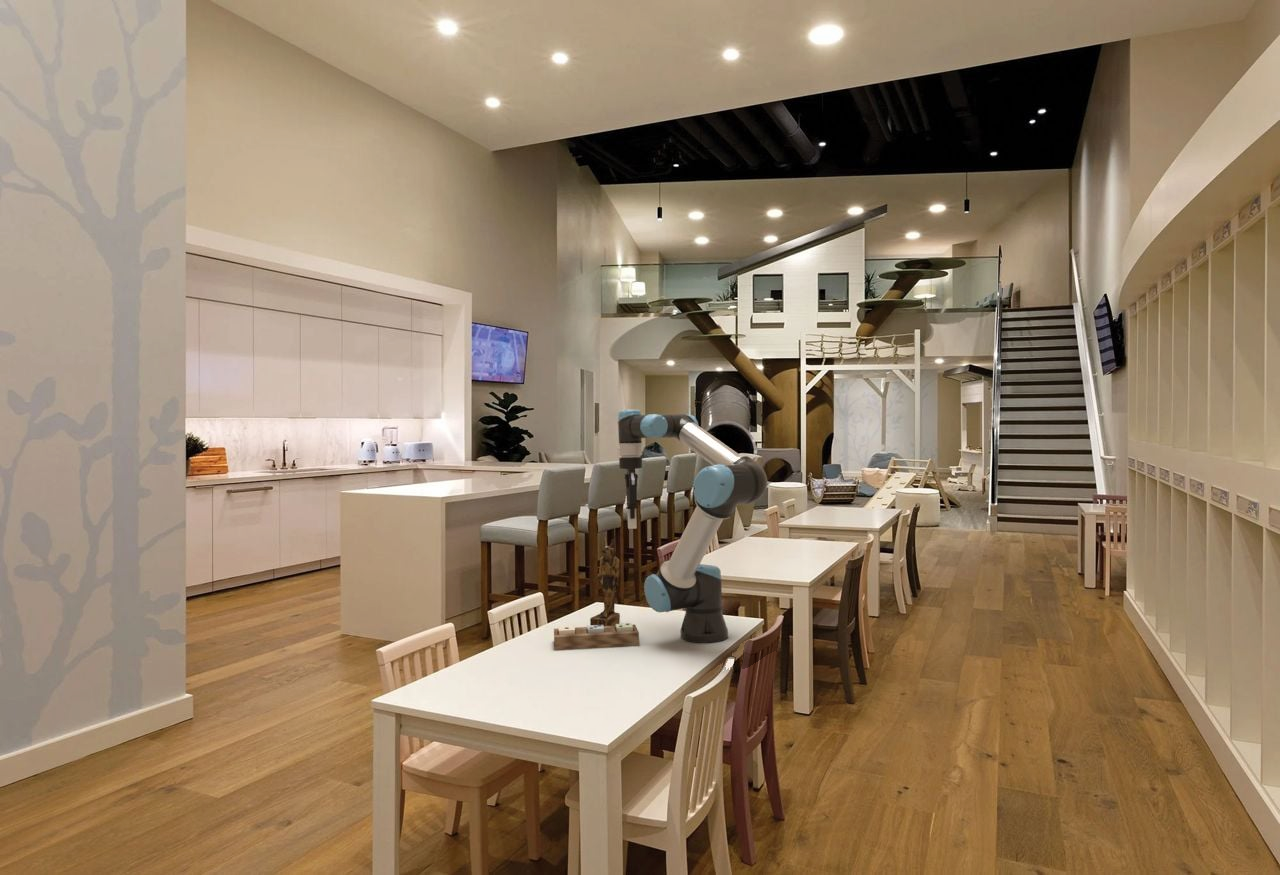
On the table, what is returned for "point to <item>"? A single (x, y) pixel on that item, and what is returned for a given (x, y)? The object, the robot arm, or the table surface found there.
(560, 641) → the wooden tray
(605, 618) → the statue
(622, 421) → the robot arm
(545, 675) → the table surface
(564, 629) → the button
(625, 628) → the pale green block
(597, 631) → the button
